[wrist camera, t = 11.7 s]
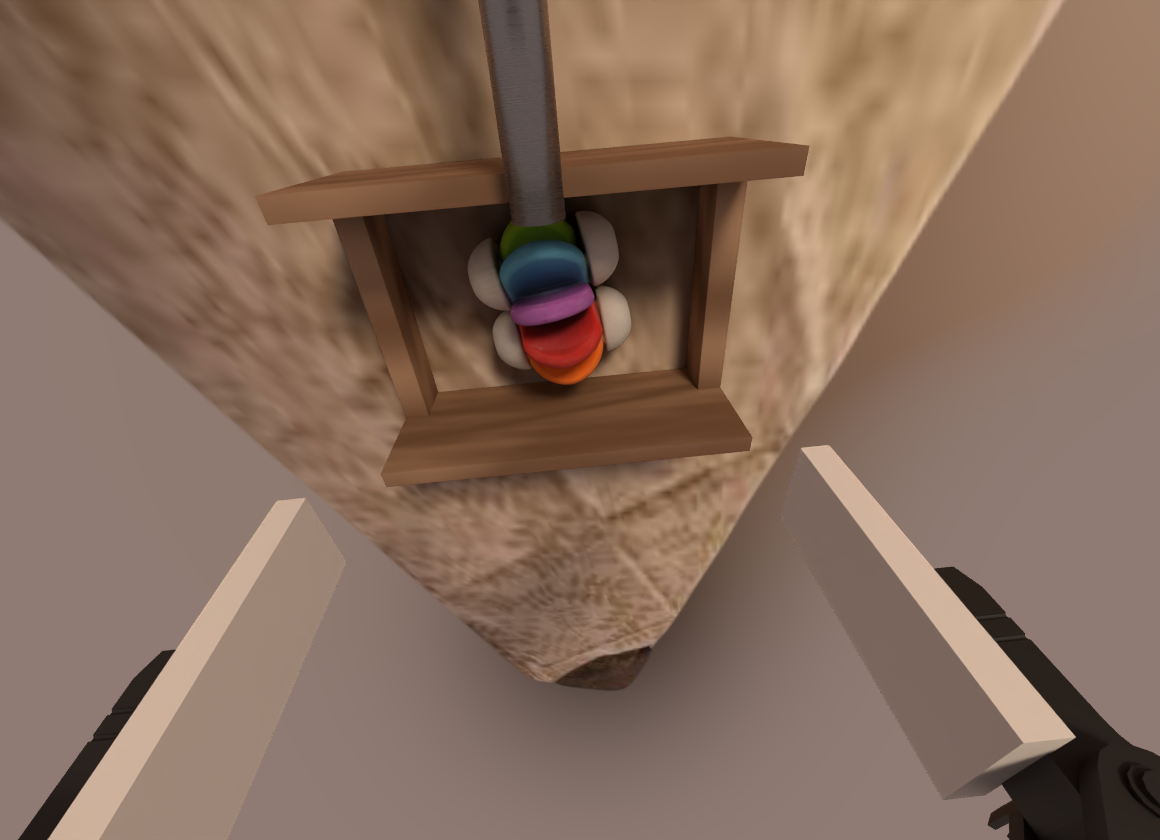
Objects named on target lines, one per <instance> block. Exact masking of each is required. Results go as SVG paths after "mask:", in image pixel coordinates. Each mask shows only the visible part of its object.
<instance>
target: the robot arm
mask: <svg viewBox="0 0 1160 840" xmlns="http://www.w3.org/2000/svg"><path fill="white" fill-rule="evenodd" d="M780 518H781V520H782V522H783V524H784V525H785V527H786V529H787V530H788V532H789V534H790V536H791V537H792V539H793V541H794V543H795V544H796V546H797V548H798V550H799V551H800V553H801V555H802V557H803V558H804V560H805V562H806V564H807V565H808V567H809V569H810V571H811V572H812V574H813V576H814V577H815V579H816V581H817V583H818V584H819V586H820V588H821V589H822V591H823V593H824V595H825V596H826V598H827V600H828V602H829V603H830V605H831V607H832V609H833V610H834V612H835V614H836V616H837V617H838V619H839V621H840V622H841V624H842V626H843V628H844V629H845V631H846V633H847V635H848V636H849V638H850V640H851V641H852V643H853V645H854V647H855V648H856V650H857V652H858V653H859V655H860V657H861V659H862V660H863V662H864V664H865V666H866V667H867V669H868V671H869V673H870V674H871V676H872V678H873V680H874V681H875V683H876V685H877V686H878V688H879V690H880V692H881V693H882V695H883V697H884V698H885V700H886V702H887V704H888V705H889V707H890V709H891V711H892V713H893V714H894V716H895V718H896V719H897V721H898V723H899V725H900V726H901V728H902V730H903V732H904V733H905V735H906V737H907V739H908V740H909V742H910V744H911V745H912V747H913V749H914V751H915V752H916V754H917V756H918V758H919V759H920V761H921V763H922V764H923V766H924V768H925V770H926V771H927V773H928V775H929V777H930V778H931V780H932V782H933V784H934V785H935V787H936V788H937V791H938V792H939V794H940V796H941V797H942V799H943V800H947V799H955V798H965V797H974V796H983V795H986V794H987V793H989V792H991V791H992V790H994V789H995V788H997V787H999V786H1000V785H1003V787H1004V788H1005V790H1006V791H1007V793H1008V794H1009V796H1010V797H1011V799H1012V801H1010V802H1008V803H1007V804H1005V805H1003V806H1001V807H1000V808H998V809H997V810H995V811H994V812H992V813H991V815H990V818H989V822H988V826H990V827H992V828H993V829H995V830H996V829H998V828H1000V827H1002V826H1004V825H1006V824H1008V823H1009V834H1008V835H1007V837H1008V838H1009V839H1010V840H1160V756H1158V755H1156V754H1155V753H1153V752H1150V751H1148V750H1144V749H1142V748H1138V747H1136V746H1133V745H1132V744H1130V743H1129V742H1127V741H1126V740H1125V739H1124V738H1123V737H1121V736H1120V735H1119V734H1118V733H1117V732H1116V731H1115V730H1114V729H1113V728H1112V727H1111V726H1110V725H1109V724H1108V723H1107V722H1106V721H1105V720H1104V719H1103V718H1102V717H1101V716H1100V715H1099V714H1098V713H1097V712H1096V711H1095V709H1093V707H1092V706H1091V705H1090V704H1089V703H1088V702H1087V701H1086V700H1085V699H1084V698H1083V696H1082V695H1081V694H1080V693H1079V692H1078V691H1077V690H1076V689H1075V688H1074V687H1073V685H1072V684H1071V683H1070V682H1069V681H1068V680H1067V679H1066V678H1065V677H1064V676H1063V675H1062V673H1061V672H1060V671H1059V670H1058V669H1057V668H1056V667H1055V666H1054V665H1053V664H1052V663H1051V661H1050V660H1049V659H1048V658H1047V657H1046V656H1045V655H1044V654H1043V653H1042V652H1041V651H1040V649H1039V648H1038V647H1037V646H1036V645H1035V644H1034V643H1033V642H1032V641H1031V640H1030V639H1027V638H1026V637H1025V633H1024V632H1023V631H1022V630H1021V629H1020V628H1019V626H1018V625H1017V624H1016V623H1015V622H1014V621H1013V620H1012V619H1011V618H1008V617H1007V616H1006V614H1005V611H1004V610H1003V609H1002V608H1001V607H1000V606H999V605H998V604H997V602H996V601H995V600H994V599H993V598H992V597H991V596H990V595H989V594H988V593H987V591H986V590H985V589H984V588H983V587H982V586H980V585H979V584H977V583H976V582H974V581H973V580H972V579H970V578H969V577H967V576H966V575H965V574H963V573H962V572H960V571H959V570H957V569H956V568H955V567H945V568H936V569H933V568H932V567H931V565H930V564H929V563H928V562H927V561H926V559H925V558H924V557H923V556H922V555H921V553H920V552H919V551H918V550H917V549H916V547H915V546H914V545H913V544H912V543H911V542H910V540H909V539H908V538H907V537H906V536H905V534H904V533H903V532H902V531H901V530H900V529H899V527H898V526H897V525H896V524H895V523H894V521H893V520H892V519H891V518H890V517H889V516H888V514H887V513H886V512H885V511H884V510H883V508H882V507H881V506H880V505H879V504H878V503H877V501H876V500H875V499H874V498H873V497H872V495H871V494H870V493H869V492H868V491H867V490H866V488H865V487H864V486H863V485H862V484H861V482H860V481H859V480H858V479H857V478H856V477H855V475H854V474H853V473H852V472H851V471H850V469H849V468H848V467H847V466H846V465H845V464H844V462H843V461H842V460H841V459H840V458H839V457H838V456H837V454H836V453H835V452H834V451H833V449H832V448H831V447H830V446H829V445H825V446H817V447H806V448H801V449H800V452H799V455H798V459H797V462H796V465H795V469H794V472H793V476H792V479H791V482H790V486H789V490H788V493H787V496H786V500H785V503H784V506H783V510H782V513H781V517H780ZM346 563H347V562H346V561H345V559H344V558H343V556H342V554H341V553H340V551H339V550H338V548H337V546H336V545H335V543H334V542H333V540H332V539H331V537H330V535H329V534H328V532H327V531H326V529H325V527H324V526H323V524H322V523H321V521H320V519H319V518H318V516H317V515H316V514H315V512H314V510H313V508H312V507H311V505H310V504H309V502H308V500H307V499H306V498H301V499H291V500H281V501H276V503H275V504H274V506H273V507H272V509H271V510H270V511H269V513H268V514H267V516H266V517H265V519H264V520H263V522H262V523H261V525H260V526H259V528H258V529H257V531H256V532H255V534H254V535H253V537H252V538H251V540H250V541H249V543H248V544H247V546H246V547H245V548H244V550H243V551H242V553H241V555H240V556H239V557H238V559H237V560H236V562H235V563H234V565H233V566H232V568H231V569H230V571H229V572H228V574H227V575H226V577H225V578H224V580H223V581H222V582H221V584H220V585H219V587H218V588H217V590H216V591H215V593H214V594H213V596H212V597H211V599H210V600H209V602H208V603H207V605H206V606H205V608H204V609H203V611H202V612H201V614H200V615H199V617H198V618H197V620H196V621H195V622H194V624H193V625H192V627H191V628H190V630H189V631H188V633H187V634H186V636H185V637H184V639H183V641H182V642H181V643H180V645H179V647H178V648H177V649H176V650H168V651H162V652H161V653H160V654H159V655H158V656H157V657H156V658H155V659H154V660H153V661H151V662H150V663H149V664H148V665H147V666H146V667H145V668H144V669H143V670H142V671H141V672H140V673H139V674H138V675H137V676H136V677H135V678H134V679H133V680H132V681H131V683H130V684H129V686H128V687H127V688H126V690H125V691H124V693H123V694H122V696H121V697H120V698H119V700H118V701H117V703H116V704H115V705H114V707H113V708H112V713H111V714H110V715H107V716H106V718H105V719H104V720H103V722H102V723H101V725H100V726H99V728H98V729H97V730H96V732H95V733H94V735H93V736H94V738H93V740H92V741H91V742H88V743H87V745H86V746H85V747H84V748H83V750H82V751H81V753H80V754H79V755H78V757H77V758H76V760H75V761H74V763H73V764H72V765H71V767H70V768H69V769H68V771H67V772H66V774H65V775H64V776H63V778H62V779H61V781H60V782H59V783H58V785H57V786H56V788H55V789H54V790H53V792H52V793H51V794H50V796H49V797H48V799H47V800H46V802H45V803H44V804H43V806H42V807H41V809H40V810H39V811H38V813H37V814H36V815H35V817H34V818H33V820H32V821H31V822H30V824H29V825H28V827H27V828H26V829H25V831H24V832H23V834H22V835H21V836H20V838H19V839H18V840H227V839H228V837H229V834H230V832H231V830H232V827H233V825H234V823H235V821H236V818H237V816H238V814H239V811H240V809H241V807H242V804H243V802H244V800H245V797H246V795H247V793H248V790H249V788H250V785H251V783H252V781H253V779H254V776H255V774H256V772H257V769H258V767H259V765H260V763H261V760H262V758H263V755H264V753H265V751H266V749H267V746H268V744H269V741H270V739H271V737H272V735H273V732H274V730H275V728H276V725H277V723H278V721H279V718H280V716H281V713H282V711H283V709H284V707H285V704H286V702H287V700H288V697H289V695H290V693H291V690H292V688H293V686H294V683H295V681H296V679H297V677H298V674H299V672H300V669H301V667H302V665H303V663H304V660H305V658H306V656H307V653H308V651H309V649H310V646H311V644H312V642H313V639H314V637H315V635H316V632H317V630H318V628H319V625H320V623H321V621H322V618H323V616H324V614H325V612H326V609H327V607H328V604H329V602H330V600H331V598H332V595H333V593H334V590H335V588H336V586H337V584H338V581H339V579H340V577H341V574H342V572H343V570H344V568H345V565H346Z"/></svg>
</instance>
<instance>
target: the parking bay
mask: <svg viewBox="0 0 1160 840" xmlns="http://www.w3.org/2000/svg"><path fill="white" fill-rule="evenodd" d="M808 150H809V146H807V145H798V144H790V143H781V142H772V141H763V140H755V139H746V138H737V137H723V138H712V139H701V140H690V141H679V142H668V143H657V144H646V145H635V146H624V147H613V148H602V149H591V150H580V151H569V152H560V157H561V169H562V181H563V193H564V198H566V197H577V196H588V195H599V194H610V193H621V192H632V191H642V190H653V189H664V188H675V187H686V186H697V185H700V192H699V205H698V218H697V231H696V245H695V258H694V271H693V284H692V297H691V310H690V323H689V336H688V349H687V362H686V368H684V369H674V370H663V371H653V372H643V373H633V374H622V375H612V376H602V377H591V378H585V379H584V380H582V381H580V382H578V383H576V384H571V385H563V384H557V383H554V382H551V381H550V382H540V383H530V384H519V385H509V386H499V387H488V388H478V389H468V390H458V391H447V392H438V391H437V388H436V384H435V381H434V378H433V375H432V371H431V368H430V365H429V362H428V358H427V355H426V352H425V348H424V345H423V342H422V339H421V335H420V332H419V329H418V326H417V322H416V319H415V316H414V313H413V309H412V306H411V303H410V300H409V296H408V293H407V290H406V287H405V283H404V280H403V277H402V273H401V270H400V267H399V264H398V260H397V257H396V254H395V251H394V247H393V244H392V241H391V238H390V234H389V231H388V228H387V225H386V221H385V218H384V215H383V214H392V213H403V212H414V211H425V210H436V209H447V208H458V207H469V206H479V205H490V204H501V203H509V199H508V193H507V186H506V179H505V173H504V166H503V159H502V158H492V159H481V160H470V161H459V162H448V163H437V164H426V165H415V166H404V167H393V168H382V169H371V170H360V171H349V172H340V173H337V174H333V175H330V176H326V177H322V178H319V179H315V180H312V181H308V182H304V183H301V184H297V185H294V186H290V187H287V188H283V189H279V190H276V191H272V192H269V193H265V194H261V195H258V196H255V198H256V200H257V202H258V204H259V207H260V209H261V211H262V213H263V215H264V218H265V220H266V222H267V224H268V225H273V224H284V223H295V222H306V221H316V220H327V219H333V222H334V225H335V227H336V230H337V233H338V235H339V238H340V241H341V243H342V246H343V249H344V251H345V254H346V257H347V260H348V262H349V265H350V268H351V270H352V273H353V276H354V278H355V281H356V284H357V287H358V289H359V292H360V295H361V297H362V300H363V303H364V305H365V308H366V311H367V314H368V316H369V319H370V322H371V324H372V327H373V330H374V332H375V335H376V338H377V340H378V343H379V346H380V349H381V351H382V354H383V357H384V359H385V362H386V365H387V367H388V370H389V373H390V376H391V378H392V381H393V384H394V386H395V389H396V392H397V394H398V397H399V400H400V402H401V405H402V408H403V411H404V413H405V416H406V420H405V422H404V424H403V426H402V429H401V431H400V433H399V435H398V437H397V440H396V442H395V444H394V446H393V448H392V451H391V453H390V455H389V457H388V459H387V461H386V464H385V466H384V468H383V470H382V472H381V476H382V478H383V480H384V482H385V484H386V487H391V486H402V485H412V484H422V483H432V482H442V481H452V480H462V479H472V478H482V477H492V476H502V475H512V474H522V473H532V472H542V471H552V470H562V469H572V468H582V467H592V466H602V465H612V464H622V463H632V462H642V461H652V460H662V459H672V458H682V457H692V456H702V455H712V454H723V453H733V452H743V451H750V446H751V441H752V436H751V434H750V433H749V431H748V430H747V428H746V427H745V425H744V424H743V422H742V420H741V419H740V417H739V416H738V414H737V413H736V411H735V410H734V408H733V406H732V405H731V403H730V402H729V400H728V399H727V397H726V396H725V394H724V393H723V391H722V389H721V388H720V385H721V378H722V370H723V362H724V355H725V347H726V340H727V332H728V324H729V317H730V309H731V301H732V294H733V286H734V279H735V271H736V263H737V256H738V248H739V241H740V233H741V225H742V218H743V210H744V202H745V195H746V187H747V181H751V180H762V179H773V178H784V177H795V176H804V170H805V165H806V160H807V155H808Z"/></svg>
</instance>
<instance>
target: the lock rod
mask: <svg viewBox="0 0 1160 840" xmlns="http://www.w3.org/2000/svg"><path fill="white" fill-rule="evenodd" d="M478 1H479V8H480V14H481V21H482V27H483V34H484V41H485V47H486V54H487V60H488V67H489V74H490V80H491V87H492V93H493V100H494V107H495V113H496V120H497V126H498V133H499V140H500V146H501V153H502V159H503V166H504V173H505V179H506V186H507V193H508V199H509V206H510V212H511V219H512V224H513V225H515V226H523V227H533V226H544V225H550V224H555V223H559V222H561V221H564V220H565V219H566V216H565V205H564V193H563V181H562V169H561V157H560V146H559V134H558V122H557V110H556V99H555V87H554V75H553V63H552V52H551V40H550V28H549V16H548V5H547V0H478Z"/></svg>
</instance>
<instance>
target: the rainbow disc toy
mask: <svg viewBox="0 0 1160 840" xmlns="http://www.w3.org/2000/svg"><path fill="white" fill-rule="evenodd" d="M576 221H577V226H578V231H579V236H580V240H581V244H582V248H583V252H584V255H583V253H582V252H581V250H579V249H578V248H577V244H576V236H575V232H574V229H573V228H572V226H571V225H570V224H568V223H567V222H566V221H561V222H559V223H555V224H550V225H544V226H533V227H523V226H515V225H513V224H512V221H511V222H510V223H509V224H508V226H507V227H506V229H505V231H504V233H503V236H502V239H501V243H500V244H499V249H498V247H497V244H496V243H495V241H494V240H493V239H491V238H488V239H486V240H484V241H482V242H481V243H480V244H479V245H478V246H477V247H476V248H475V249H474V250H473V252H472V254H471V256H470V258H469V262H468V276H469V280H470V283H471V286H472V288H473V291H474V293H475V295H476V296H477V298H478V299H479V300H480V301H482V302H483V303H484V304H486V305H487V306H489V307H491V308H494V309H498V310H504V311H503V312H502V313H501V314H500V315H499V316H498V317H497V319H496V321H495V323H494V326H493V339H494V344H495V347H496V350H497V353H498V355H499V356H500V358H501V359H502V360H503V361H504V362H505V363H507V364H508V365H510V366H512V367H515V368H518V369H531V368H532V366H533V368H534V369H535V370H536V371H537V372H538V373H539V374H540V375H541V376H542V377H544V378H545V379H547V380H549V381H551V382H554V383H557V384H563V385H571V384H576V383H578V382H580V381H582V380H584V379H585V378H587V377H588V376H589V375H590V374H591V373H592V372H593V371H594V370H595V368H596V367H597V365H598V364H599V362H600V359H601V356H602V352H603V343H604V345H605V348H606V350H607V351H611V350H614V349H616V348H617V347H619V346H620V345H621V344H622V343H623V342H624V341H625V340H626V338H627V337H628V335H629V333H630V331H631V317H630V311H629V307H628V303H627V300H626V298H625V297H624V296H623V295H622V294H621V293H620V292H619V291H617V290H615V289H613V288H611V287H607V286H600V284H601V283H603V282H604V281H606V280H607V279H608V278H609V277H610V276H611V274H612V273H613V272H614V270H615V268H616V266H617V264H618V260H619V252H618V246H617V241H616V236H615V233H614V229H613V227H612V225H611V224H610V222H609V221H608V220H606V219H605V218H604V217H602V216H601V215H599V214H597V213H594V212H590V211H578V212H576ZM588 283H591V284H592V285H593V286H595V287H594V294H593V292H592V290H591V287H590V286H589V285H588ZM594 298H595V300H594Z"/></svg>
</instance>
